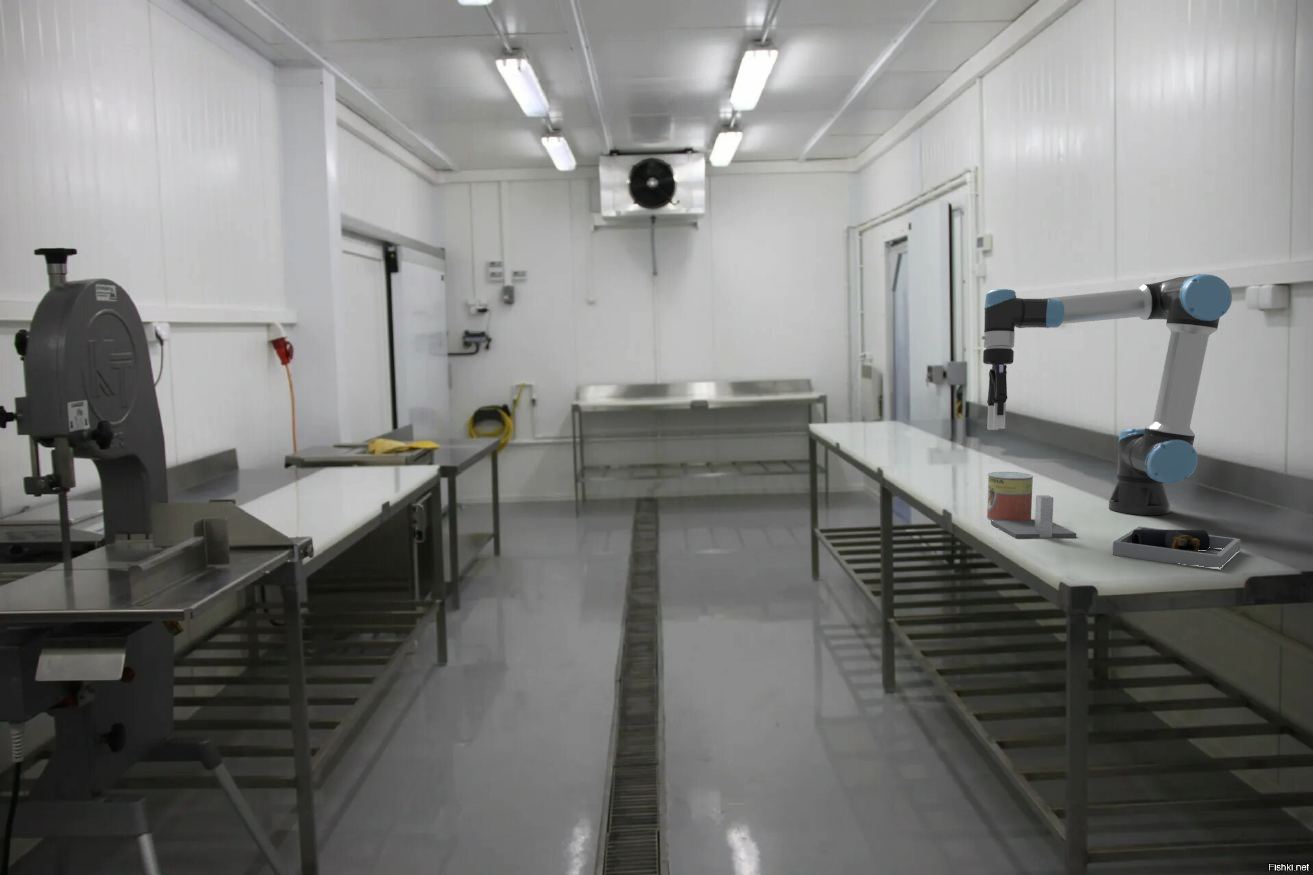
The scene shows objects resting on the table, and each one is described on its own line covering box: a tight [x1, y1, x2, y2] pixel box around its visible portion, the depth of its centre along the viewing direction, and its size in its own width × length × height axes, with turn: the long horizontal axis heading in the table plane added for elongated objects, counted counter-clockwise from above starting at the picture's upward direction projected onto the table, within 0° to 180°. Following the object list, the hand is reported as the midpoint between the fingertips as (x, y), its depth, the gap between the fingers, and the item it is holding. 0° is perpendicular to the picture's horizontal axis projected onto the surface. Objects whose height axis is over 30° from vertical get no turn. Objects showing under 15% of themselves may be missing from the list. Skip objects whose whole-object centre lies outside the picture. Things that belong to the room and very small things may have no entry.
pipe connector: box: [1131, 528, 1210, 552], centre depth 205 cm, size 12×5×15 cm
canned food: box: [986, 471, 1034, 521], centre depth 244 cm, size 11×11×12 cm
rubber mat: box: [990, 519, 1077, 539], centre depth 230 cm, size 16×15×1 cm
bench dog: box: [1034, 494, 1054, 539], centre depth 223 cm, size 3×3×10 cm
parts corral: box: [1112, 526, 1241, 568], centre depth 205 cm, size 21×21×3 cm
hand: (995, 429), depth 239 cm, fingers open, 13 cm apart
